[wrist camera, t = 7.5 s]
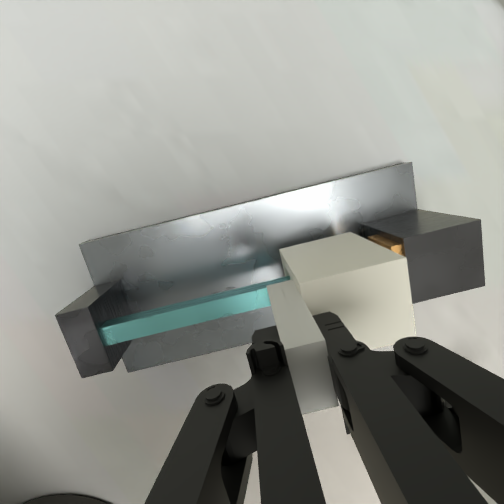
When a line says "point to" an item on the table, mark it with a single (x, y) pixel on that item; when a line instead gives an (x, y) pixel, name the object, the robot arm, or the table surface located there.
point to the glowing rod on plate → (250, 267)
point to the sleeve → (354, 286)
